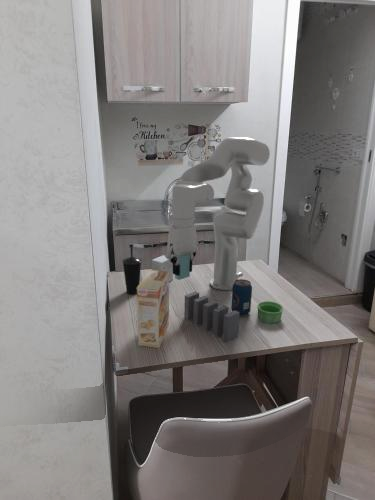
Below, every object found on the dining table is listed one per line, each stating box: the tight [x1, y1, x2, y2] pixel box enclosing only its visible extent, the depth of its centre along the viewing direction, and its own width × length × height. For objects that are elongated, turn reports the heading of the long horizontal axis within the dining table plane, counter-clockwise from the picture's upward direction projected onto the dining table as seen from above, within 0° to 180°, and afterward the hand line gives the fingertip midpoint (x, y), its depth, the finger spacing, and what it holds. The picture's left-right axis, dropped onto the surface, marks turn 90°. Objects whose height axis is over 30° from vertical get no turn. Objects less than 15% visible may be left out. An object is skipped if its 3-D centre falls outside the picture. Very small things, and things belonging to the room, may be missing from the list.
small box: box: [151, 254, 174, 282], centre depth 160 cm, size 8×6×10 cm
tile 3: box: [192, 295, 209, 326], centre depth 127 cm, size 5×2×9 cm, turn 132°
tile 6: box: [222, 310, 240, 344], centre depth 117 cm, size 5×2×9 cm, turn 132°
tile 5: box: [211, 304, 229, 338], centre depth 120 cm, size 5×2×9 cm, turn 132°
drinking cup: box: [121, 244, 143, 295], centre depth 147 cm, size 8×8×20 cm
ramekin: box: [256, 300, 284, 324], centre depth 131 cm, size 9×9×4 cm
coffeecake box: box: [136, 269, 170, 349], centre depth 117 cm, size 15×7×20 cm, turn 171°
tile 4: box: [202, 299, 219, 332], centre depth 123 cm, size 5×2×9 cm, turn 132°
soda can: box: [230, 278, 253, 317], centre depth 133 cm, size 7×7×12 cm
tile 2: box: [183, 291, 200, 321], centre depth 130 cm, size 5×2×9 cm, turn 132°
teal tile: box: [174, 254, 191, 281], centre depth 129 cm, size 5×2×9 cm, turn 132°
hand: (182, 272), depth 130 cm, fingers closed on teal tile, 4 cm apart
